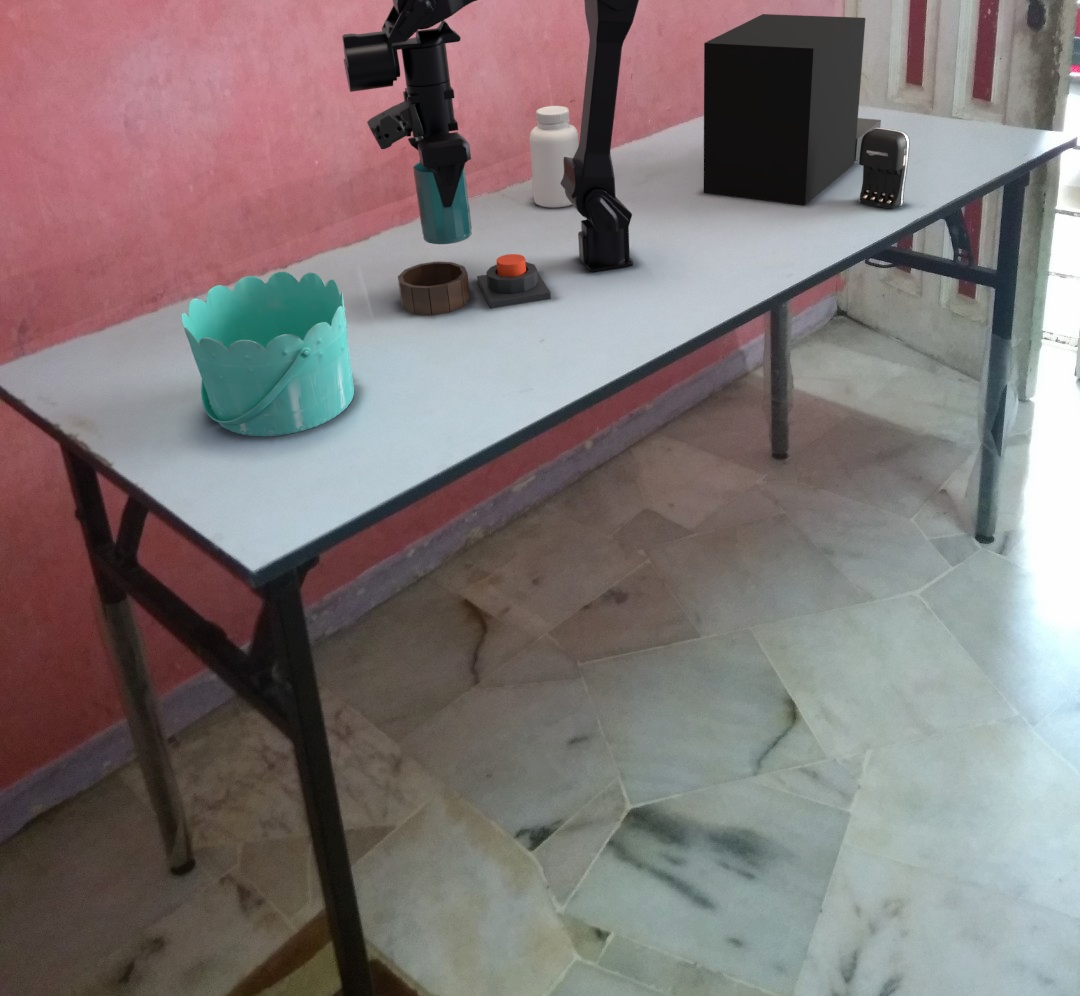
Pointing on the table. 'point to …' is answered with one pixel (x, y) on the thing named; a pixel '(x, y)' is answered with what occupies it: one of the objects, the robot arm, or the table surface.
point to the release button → (511, 265)
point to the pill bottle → (551, 154)
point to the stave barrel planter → (434, 288)
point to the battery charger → (884, 167)
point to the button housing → (513, 287)
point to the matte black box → (783, 106)
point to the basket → (272, 353)
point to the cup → (441, 209)
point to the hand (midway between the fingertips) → (443, 198)
